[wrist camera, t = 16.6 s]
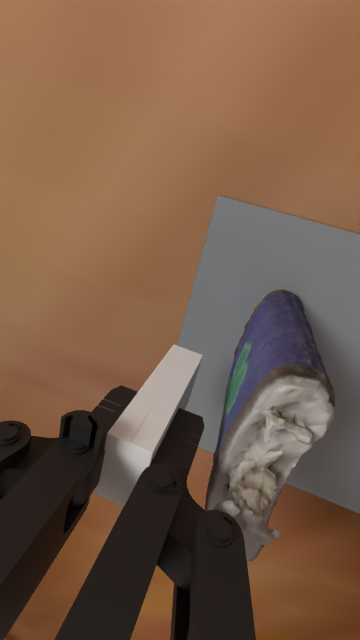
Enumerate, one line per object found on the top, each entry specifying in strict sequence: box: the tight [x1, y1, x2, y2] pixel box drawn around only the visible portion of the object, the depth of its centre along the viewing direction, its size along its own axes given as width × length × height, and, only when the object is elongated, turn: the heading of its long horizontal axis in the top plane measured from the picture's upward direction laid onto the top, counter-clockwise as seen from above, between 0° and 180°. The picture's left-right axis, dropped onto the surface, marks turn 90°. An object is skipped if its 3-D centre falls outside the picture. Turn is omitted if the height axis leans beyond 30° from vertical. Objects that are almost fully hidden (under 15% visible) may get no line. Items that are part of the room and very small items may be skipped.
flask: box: [205, 288, 335, 561], centre depth 15 cm, size 9×3×11 cm, turn 166°
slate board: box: [177, 195, 360, 514], centre depth 19 cm, size 18×16×1 cm
